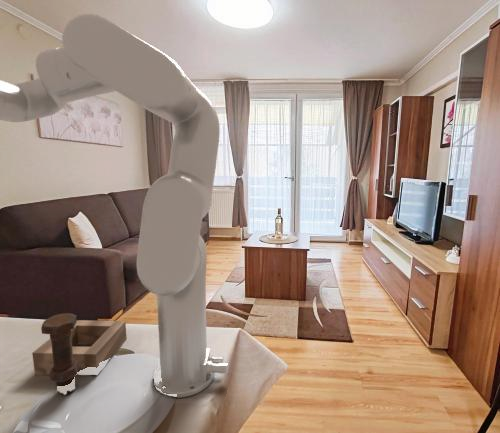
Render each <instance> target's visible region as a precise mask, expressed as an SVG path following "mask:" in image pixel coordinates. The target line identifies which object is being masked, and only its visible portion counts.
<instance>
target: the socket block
mask: <svg viewBox="0 0 500 433" xmlns="http://www.w3.org/2000/svg"><path fill="white" fill-rule="evenodd" d="M126 325H127V324H126V321H125V320H94V319H93V320H88V319H86V320H85V319H83V320H82V319H81V320H79V319H78V320H77V322H76V324H75V326H74V328H73V329H71V340H72V350H73V359H75V360H77V361H78V363H79V368H78V372H79V371H80V370H83V369H85V368H87V367H96V368H97V367H98V366H99V363H100V362H102V361H105V360H107V359H109V358H111V359H112V358H113V357H114V356H116V353H117V352H118V351H119V349H121V347H122V346H123V344H124V343H125V342H126V341H127V326H126ZM78 345H91V346H78ZM31 355H32V360H33V361H32V362H33V369H34V375H38V376H39V375H42V376H48V375H49V374H50V370H51V368H52V366H53V365H54V360H53V353H52V343H51V339H50V338H49V339H48V340H46V342H44V343H43V344H41V345H40V346H39V347H38V348H36V349H35V350H34V351H32V354H31ZM49 376H50V375H49Z"/></svg>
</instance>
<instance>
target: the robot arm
mask: <svg viewBox="0 0 500 433" xmlns="http://www.w3.org/2000/svg"><path fill="white" fill-rule="evenodd" d="M64 26H65V27H64V29H63V31H62V38H61V39H62V40H61V42H62V46H60V47H59V46H58V47H55V48H52V49H46V50H43V51H40V52H39V53H38V54H37V55H36V58H35V67H36V73H37V76H38V78H35V79H32V80H28V81H24V82H20V83H11V82H7V81H6V80H3V79H0V121H4V122H10V123H22V122H23V123H25V122H29V121H33V120H37V119H38V120H39V119H41V118H46V117H49V116H53V115H55V114H56V113H59V111H61V110H63V109H64V108H65V107H66V106H67V105H68V103H70V102H74V101H78V100H84V99H86V98H90V97H96V96H100V95H105V94H109V93H113V92H117V93H118V94H121V96H124V97H125V98H128V100H130V101H132V102H134V104H135V103H136V105H138V106H140V107H142V108H143V109H145V110H147V111H148V112H150V113H152V114H154V115H155V116H158V117H159V118H161V119H164V120H165V121H168V122H169V123H171V124H172V125H173V126H174V129H175V131H174V135H173V136H174V137H173V139H172V143H171V146H170V147H171V148H170V158H169V164H168V170H167V174H164V175H163V176H161V177H159V178H158V179H156V180H155V181H154V182H153V183H152V184H151V186H149V188H148V190H147V192H146V194H145V197H144V201H143V205H142V213H141V220H140V230H139V237H138V245H137V254H136V271H137V276H138V278H139V280H140V282H141V284H142V286H143V287H144V288H145V289H146V290H148V291H149V292H151V293H152V294H154V295H156V296H157V297H156V298H157V299H156V303H157V305H156V306H157V322H158V323H157V326H158V327H157V328H158V345H159V346H158V347H159V364H160V368H159V367H158V368H159V369H161V378H162V382H161V381H160V382H159V384H158V382H157V383H156V382H155V381H154V384H155V386H156V387H157V388H159V389H161V391H162V392H163V393H166V394H177V398H178V399H179V398H186V397H190V396H194V395H195V394H198V393H200V392H202V391H204V390H205V389H206V388H207V387H208V386H209V385H210V384H211V382H213V380H214V377H215V374H216V373H217V374H228V370H229V369H228V368H229V363H228V362H224V356H213V355H212V354H211V348H210V347H209V348H208V347H207V346H208V345H207V344H208V342H207V311H206V310H207V307H206V306H207V301H206V300H207V297H206V295H207V294H206V292H207V291H206V285H207V282H206V280H207V277H206V276H207V263H208V262H207V261H208V252H207V247H206V242H205V240H204V239H203V237H202V236H201V230H202V222H203V219H204V218H205V217H206V216H207V215H208V213H209V211H210V209H211V207H212V198H213V189H214V188H213V187H214V182H215V175H216V169H217V168H216V167H217V160H218V150H219V143H220V135H221V134H220V132H221V128H220V120H219V116H218V114H217V111H216V108H215V107H214V105H213V103H212V102H211V100H210V99H209V98H208V97H207V95H205V94H204V93H203V92H202V91H201V90H200V89H199V88H198V87H196V85H195V84H194V83H193V82H192V81H191V80H190V78H189V77H188V76H187V74H186V73H185V71H184V70H183V69H182V68H181V67H180V65H178V63H177V62H176V61H175V60H174V59H172V57H170V56H168V55H167V54H165V53H164V52H162V51H161V50H159V49H158V48H156V47H154V46H153V45H150V44H149V43H148V42H146V41H145V40H143V39H141V38H139V37H137V36H136V35H134V34H132V33H131V32H129V31H127V30H126V29H124V28H123V27H121V26H119V25H118V24H116V23H115V22H113V21H111V20H110V19H108V18H106V17H104V16H102V15H98V14H93V13H84V14H80V15H79V14H78V15H77V16H74V17H73V18H72V19H70V20H69V21H68V22H67V24H65V25H64ZM156 368H157V367H156ZM158 368H157V369H158ZM154 371H155V370H154ZM155 372H156V371H155ZM155 372H153V373H155ZM157 372H158V371H157ZM157 372H156V373H157ZM159 372H160V371H159ZM159 372H158V373H159ZM154 384H153V385H154ZM163 386H165V387H166V388H164V389H163V388H162V387H163ZM177 398H176V399H177Z"/></svg>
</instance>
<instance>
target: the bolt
mask: <svg viewBox="0 0 500 433" xmlns="http://www.w3.org/2000/svg"><path fill="white" fill-rule="evenodd" d="M76 322H77V315H76V314H74V313H69V312H66V313H59V314H56V315H55V314H54V315H51V316H50V317H48V318H47V319H45V320H43V322H42V325H41V327H40V328H41V329H40V330H41V334H43V335H49V339H51V343H52V353H53V360H54V365H53V366H52V368H51V370H50V374H49V380H50V381H52V382H54V383H55V386H56V387H57V386H65V385H68V384H70V383H71V382H72V380H73V379H74V377H75V378H76V376H75V375H76V374H77V372H78V368H79V363H78V361H77V360H75V359H73V350H72V340H71V329H73V328H74V326H75V324H76ZM56 387H55V388H56Z"/></svg>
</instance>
